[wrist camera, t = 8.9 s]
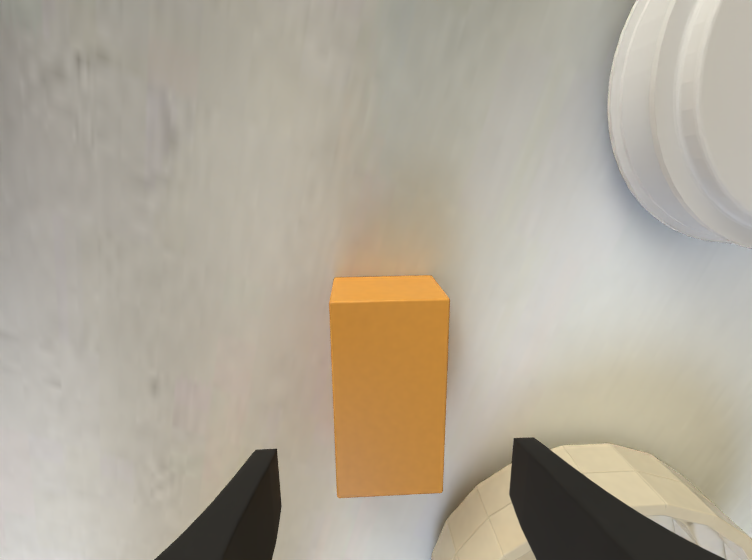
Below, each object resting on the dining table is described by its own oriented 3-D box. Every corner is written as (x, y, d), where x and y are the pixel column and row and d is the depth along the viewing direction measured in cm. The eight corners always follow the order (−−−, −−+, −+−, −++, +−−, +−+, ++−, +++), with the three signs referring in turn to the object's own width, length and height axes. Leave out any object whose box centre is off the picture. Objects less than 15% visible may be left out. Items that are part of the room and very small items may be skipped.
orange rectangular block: (427, 439, 20) (443, 493, 17) (339, 443, 20) (337, 499, 17) (431, 274, 18) (450, 298, 15) (333, 277, 18) (328, 301, 14)
